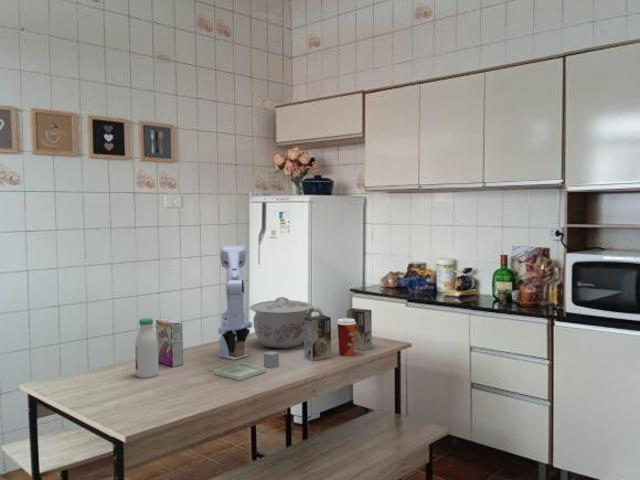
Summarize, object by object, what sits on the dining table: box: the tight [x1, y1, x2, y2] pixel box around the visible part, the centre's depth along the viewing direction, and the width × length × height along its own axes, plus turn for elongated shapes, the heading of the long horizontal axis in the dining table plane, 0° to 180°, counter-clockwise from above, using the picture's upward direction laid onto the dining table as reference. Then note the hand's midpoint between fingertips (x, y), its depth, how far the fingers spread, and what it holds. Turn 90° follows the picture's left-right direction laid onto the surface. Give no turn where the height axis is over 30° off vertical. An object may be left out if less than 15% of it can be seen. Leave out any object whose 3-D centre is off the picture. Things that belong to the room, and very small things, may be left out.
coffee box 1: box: [303, 314, 332, 362], centre depth 222 cm, size 9×6×16 cm
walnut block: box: [229, 340, 246, 357], centre depth 203 cm, size 4×4×5 cm
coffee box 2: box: [346, 307, 373, 351], centre depth 238 cm, size 9×6×16 cm
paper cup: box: [336, 317, 356, 357], centre depth 227 cm, size 8×8×14 cm
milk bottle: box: [134, 317, 160, 379], centre depth 200 cm, size 8×8×20 cm
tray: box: [213, 361, 267, 382], centre depth 202 cm, size 13×13×2 cm
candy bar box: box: [155, 318, 184, 368], centre depth 215 cm, size 11×5×16 cm, turn 47°
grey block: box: [263, 350, 280, 369], centre depth 211 cm, size 4×4×5 cm
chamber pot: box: [249, 296, 324, 349], centre depth 243 cm, size 28×28×21 cm
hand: (235, 350), depth 203 cm, fingers closed on walnut block, 4 cm apart
